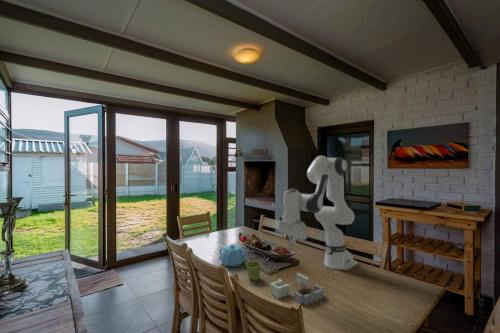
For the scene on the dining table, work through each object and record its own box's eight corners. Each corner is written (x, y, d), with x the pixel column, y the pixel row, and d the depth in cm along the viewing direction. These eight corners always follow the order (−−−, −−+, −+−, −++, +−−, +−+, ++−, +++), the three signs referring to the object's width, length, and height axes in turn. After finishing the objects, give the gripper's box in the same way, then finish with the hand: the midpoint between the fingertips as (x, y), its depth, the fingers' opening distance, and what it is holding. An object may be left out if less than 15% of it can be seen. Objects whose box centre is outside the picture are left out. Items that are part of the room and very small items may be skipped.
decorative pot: (225, 271, 162) (224, 250, 162) (218, 262, 176) (217, 243, 176) (248, 266, 168) (247, 246, 168) (239, 258, 183) (238, 240, 183)
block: (308, 294, 130) (307, 282, 130) (311, 300, 124) (311, 288, 124) (296, 294, 129) (296, 283, 129) (299, 300, 123) (299, 288, 123)
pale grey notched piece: (298, 281, 144) (298, 272, 144) (309, 287, 136) (309, 278, 136) (268, 291, 133) (268, 282, 133) (278, 299, 125) (278, 289, 125)
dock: (316, 291, 132) (316, 284, 132) (325, 297, 126) (325, 289, 126) (294, 300, 124) (294, 292, 124) (303, 306, 119) (302, 297, 119)
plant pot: (248, 283, 144) (248, 268, 144) (244, 276, 153) (244, 262, 153) (263, 280, 146) (263, 265, 146) (259, 274, 155) (258, 260, 155)
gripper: (309, 221, 128) (310, 247, 128) (285, 215, 146) (285, 238, 146) (300, 223, 125) (301, 250, 125) (276, 216, 143) (277, 240, 143)
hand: (292, 243), depth 136 cm, fingers closed
